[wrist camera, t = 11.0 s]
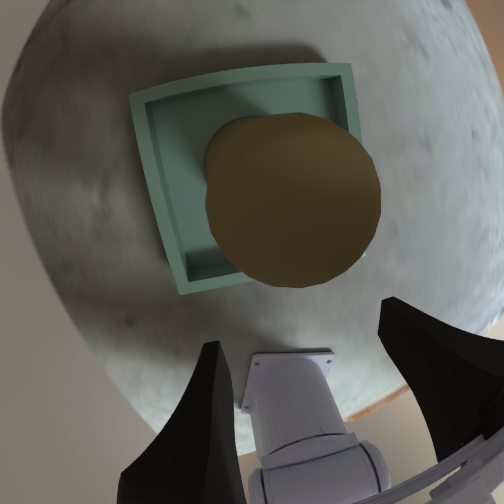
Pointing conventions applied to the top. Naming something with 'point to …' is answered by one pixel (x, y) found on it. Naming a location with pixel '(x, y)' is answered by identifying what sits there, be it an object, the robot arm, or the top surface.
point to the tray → (198, 136)
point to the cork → (290, 197)
